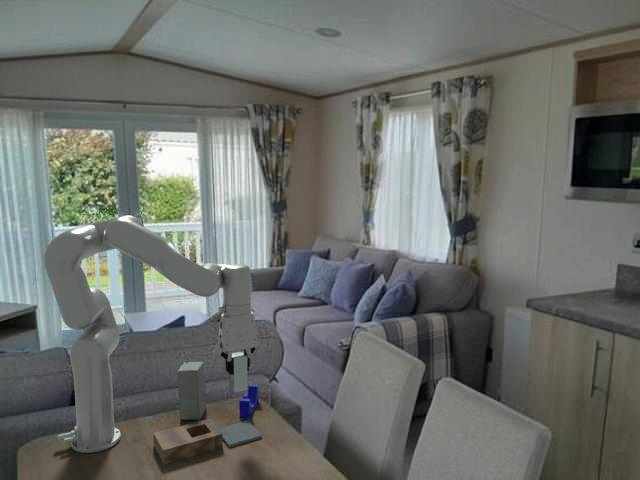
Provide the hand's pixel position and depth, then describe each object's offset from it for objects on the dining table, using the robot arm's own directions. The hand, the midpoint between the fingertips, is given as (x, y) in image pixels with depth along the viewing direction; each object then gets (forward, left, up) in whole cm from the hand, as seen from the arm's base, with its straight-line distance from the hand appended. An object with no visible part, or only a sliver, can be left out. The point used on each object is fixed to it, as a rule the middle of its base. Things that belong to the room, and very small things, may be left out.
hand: (237, 370), depth 141 cm
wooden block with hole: (-14, +1, -19) cm, 24 cm away
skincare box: (-7, +19, -19) cm, 28 cm away
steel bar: (0, 0, -5) cm, 5 cm away
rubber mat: (0, 0, -19) cm, 19 cm away
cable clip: (+8, +13, -20) cm, 25 cm away
